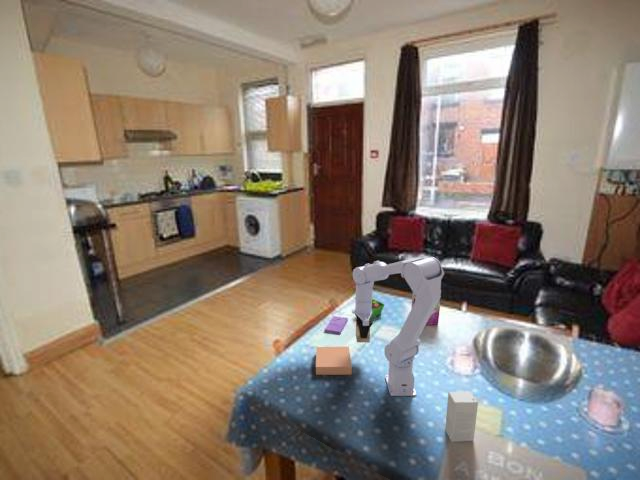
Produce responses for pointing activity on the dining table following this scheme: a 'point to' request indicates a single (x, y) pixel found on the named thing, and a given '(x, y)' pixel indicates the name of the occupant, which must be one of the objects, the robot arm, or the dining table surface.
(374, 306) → the fruit basket
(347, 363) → the terracotta plinth
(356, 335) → the beech block
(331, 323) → the sponges
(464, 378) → the dining table surface
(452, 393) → the skincare box
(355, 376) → the dining table surface
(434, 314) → the candy bar box
